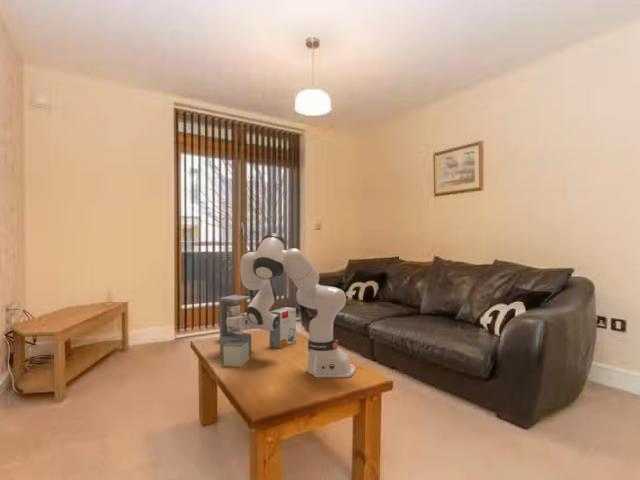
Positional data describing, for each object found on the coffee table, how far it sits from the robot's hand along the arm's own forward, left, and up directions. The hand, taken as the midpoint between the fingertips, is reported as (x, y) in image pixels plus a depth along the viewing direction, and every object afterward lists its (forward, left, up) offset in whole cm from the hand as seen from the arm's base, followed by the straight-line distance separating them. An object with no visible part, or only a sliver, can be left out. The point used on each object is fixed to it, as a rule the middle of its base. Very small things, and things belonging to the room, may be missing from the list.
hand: (232, 316), depth 193 cm
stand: (-9, +15, -19) cm, 26 cm away
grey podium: (-2, +1, -19) cm, 19 cm away
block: (-1, 0, -8) cm, 8 cm away
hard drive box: (-22, -18, -19) cm, 35 cm away
